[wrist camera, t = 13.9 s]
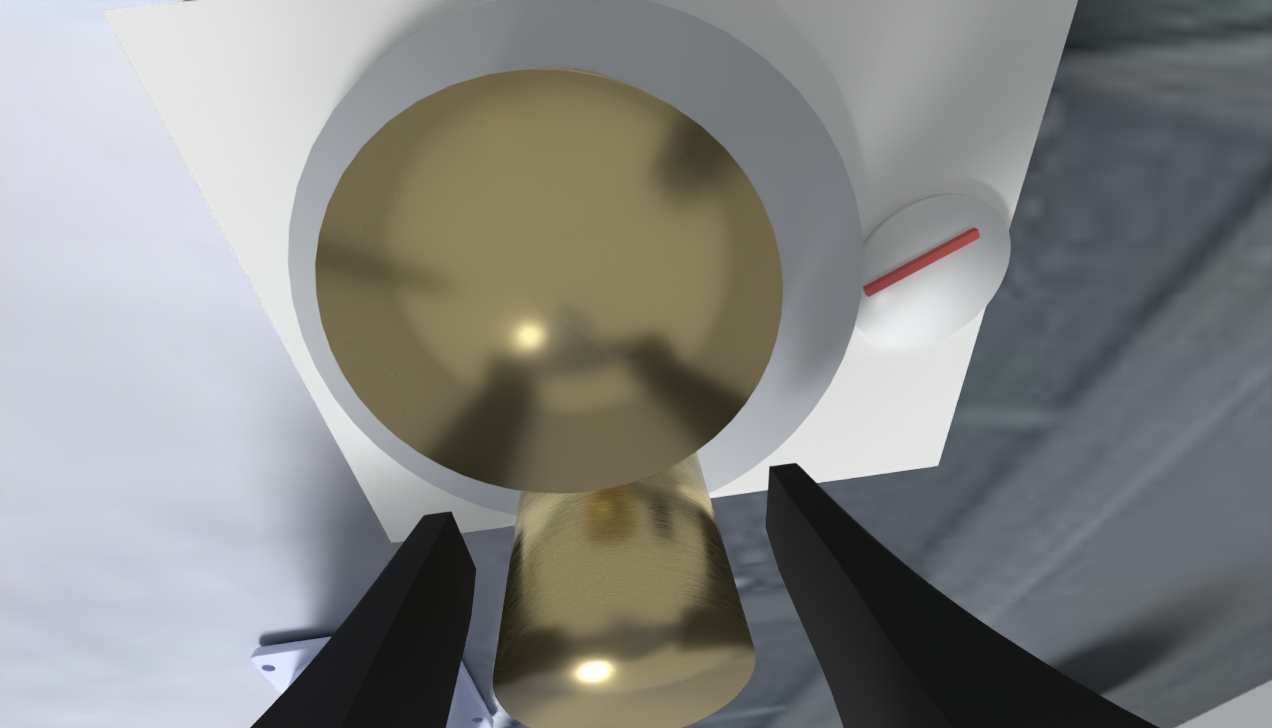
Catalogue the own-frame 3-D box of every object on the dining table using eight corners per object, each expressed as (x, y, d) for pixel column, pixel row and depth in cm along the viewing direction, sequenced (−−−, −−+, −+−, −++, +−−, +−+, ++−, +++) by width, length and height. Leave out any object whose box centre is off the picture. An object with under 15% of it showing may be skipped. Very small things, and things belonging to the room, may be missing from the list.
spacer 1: (693, 276, 11) (786, 453, 6) (499, 316, 11) (430, 524, 6) (664, 43, 9) (777, 14, 4) (420, 95, 9) (202, 134, 4)
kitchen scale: (904, 427, 18) (953, 483, 16) (410, 496, 18) (383, 564, 15) (1025, -75, 11) (1150, -114, 8) (180, 19, 10) (59, 6, 8)
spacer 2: (700, 489, 15) (762, 713, 10) (553, 519, 15) (538, 758, 10) (678, 364, 12) (745, 574, 7) (504, 401, 13) (450, 633, 7)
